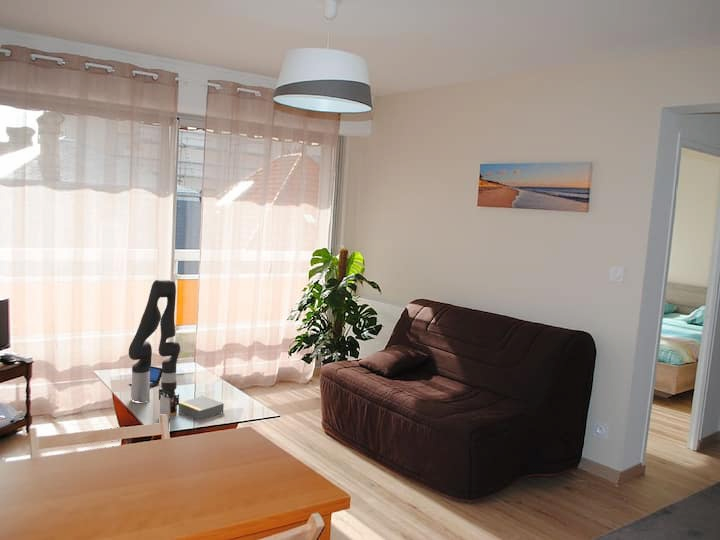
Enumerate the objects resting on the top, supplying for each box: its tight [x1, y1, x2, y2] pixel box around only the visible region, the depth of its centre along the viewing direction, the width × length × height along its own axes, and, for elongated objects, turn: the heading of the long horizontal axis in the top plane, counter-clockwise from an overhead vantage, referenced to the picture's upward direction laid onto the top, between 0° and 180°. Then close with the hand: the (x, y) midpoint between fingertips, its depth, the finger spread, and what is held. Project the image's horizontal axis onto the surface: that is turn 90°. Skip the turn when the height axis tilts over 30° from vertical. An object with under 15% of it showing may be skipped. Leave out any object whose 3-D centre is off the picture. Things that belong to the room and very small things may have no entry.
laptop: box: [150, 365, 162, 388], centre depth 363 cm, size 16×13×9 cm
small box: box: [159, 396, 178, 420], centre depth 315 cm, size 8×6×10 cm
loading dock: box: [178, 395, 225, 421], centre depth 323 cm, size 17×16×5 cm
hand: (168, 410), depth 315 cm, fingers closed on small box, 7 cm apart
